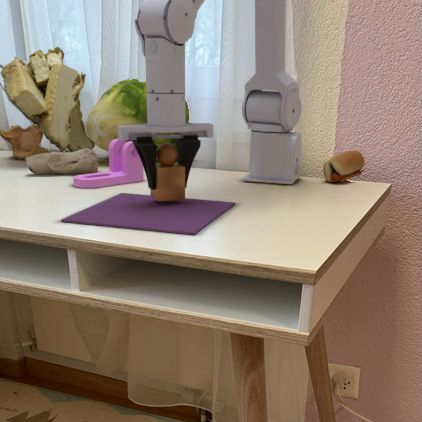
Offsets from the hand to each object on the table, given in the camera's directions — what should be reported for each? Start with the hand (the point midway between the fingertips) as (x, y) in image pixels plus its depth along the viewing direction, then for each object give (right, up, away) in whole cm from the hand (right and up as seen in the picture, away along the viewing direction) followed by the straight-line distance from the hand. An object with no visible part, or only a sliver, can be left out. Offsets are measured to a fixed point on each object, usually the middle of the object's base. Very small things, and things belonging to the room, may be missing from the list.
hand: (167, 187), depth 95 cm
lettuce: (-6, +18, +36) cm, 41 cm away
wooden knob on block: (0, -1, +1) cm, 2 cm away
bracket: (-12, +6, +17) cm, 22 cm away
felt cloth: (-2, -5, -4) cm, 7 cm away
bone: (-34, +19, +41) cm, 56 cm away
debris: (-30, +27, +36) cm, 54 cm away
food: (+32, +14, +22) cm, 41 cm away
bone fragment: (-18, +9, +20) cm, 28 cm away
